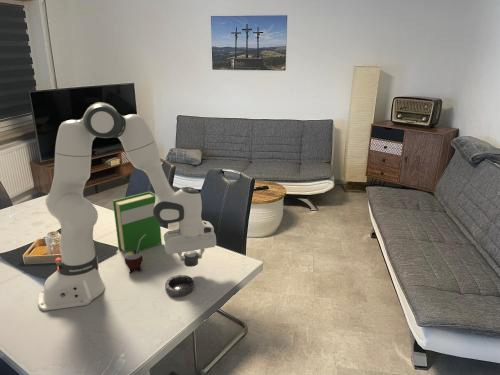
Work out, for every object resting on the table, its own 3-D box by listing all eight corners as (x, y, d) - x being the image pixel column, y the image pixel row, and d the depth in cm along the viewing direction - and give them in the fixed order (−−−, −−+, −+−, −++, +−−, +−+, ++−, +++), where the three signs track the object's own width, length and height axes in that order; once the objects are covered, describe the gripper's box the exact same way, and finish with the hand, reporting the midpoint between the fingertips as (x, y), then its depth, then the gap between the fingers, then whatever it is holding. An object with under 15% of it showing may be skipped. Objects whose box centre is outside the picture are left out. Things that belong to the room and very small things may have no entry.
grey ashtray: (169, 299, 137) (169, 293, 137) (163, 284, 146) (162, 278, 145) (197, 292, 142) (196, 286, 141) (189, 278, 150) (189, 272, 150)
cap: (186, 267, 149) (185, 257, 147) (182, 261, 153) (182, 251, 152) (199, 265, 151) (199, 255, 149) (196, 258, 155) (195, 249, 154)
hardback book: (125, 255, 167) (119, 205, 159) (118, 249, 172) (112, 200, 164) (161, 243, 178) (157, 195, 170) (154, 237, 183) (150, 191, 175)
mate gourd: (122, 271, 155) (118, 239, 150) (134, 262, 162) (131, 230, 156) (137, 275, 152) (133, 242, 147) (149, 266, 159) (146, 233, 154)
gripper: (165, 235, 140) (166, 267, 145) (217, 227, 148) (217, 258, 153) (162, 228, 146) (163, 260, 150) (212, 221, 154) (212, 251, 158)
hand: (191, 259), depth 152 cm, fingers closed on cap, 5 cm apart
